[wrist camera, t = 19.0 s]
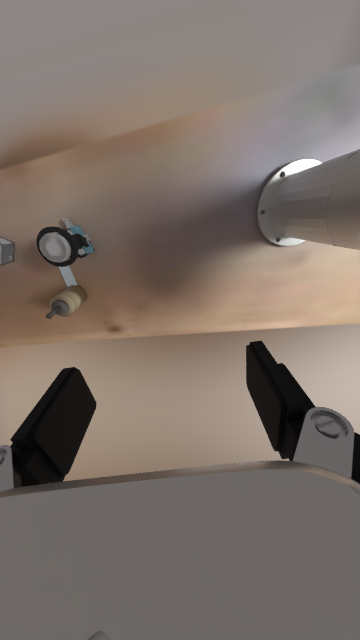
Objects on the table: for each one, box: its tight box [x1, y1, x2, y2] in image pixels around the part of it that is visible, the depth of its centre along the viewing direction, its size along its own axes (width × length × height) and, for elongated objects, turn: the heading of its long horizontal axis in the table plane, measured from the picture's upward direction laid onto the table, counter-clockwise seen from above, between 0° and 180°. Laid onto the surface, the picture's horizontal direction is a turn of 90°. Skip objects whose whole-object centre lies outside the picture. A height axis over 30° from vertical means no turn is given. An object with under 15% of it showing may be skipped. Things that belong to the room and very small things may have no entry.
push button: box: [37, 218, 95, 267], centre depth 31 cm, size 7×5×10 cm
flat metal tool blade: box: [59, 260, 85, 303], centre depth 38 cm, size 2×13×1 cm, turn 9°
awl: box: [46, 285, 87, 319], centre depth 36 cm, size 4×4×10 cm
